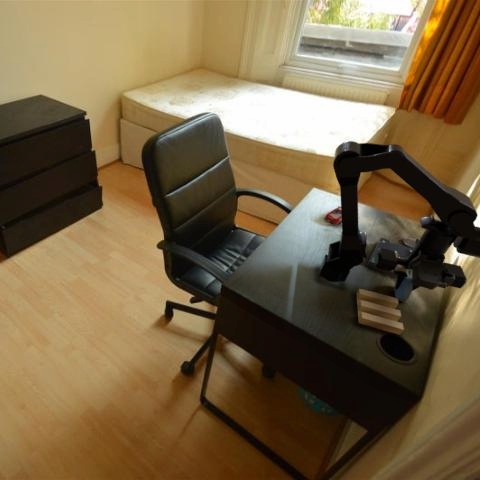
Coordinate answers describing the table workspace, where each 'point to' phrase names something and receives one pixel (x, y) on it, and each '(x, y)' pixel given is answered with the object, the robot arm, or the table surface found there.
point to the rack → (379, 311)
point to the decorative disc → (409, 242)
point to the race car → (334, 216)
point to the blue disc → (404, 289)
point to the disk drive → (399, 250)
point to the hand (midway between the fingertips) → (401, 289)
